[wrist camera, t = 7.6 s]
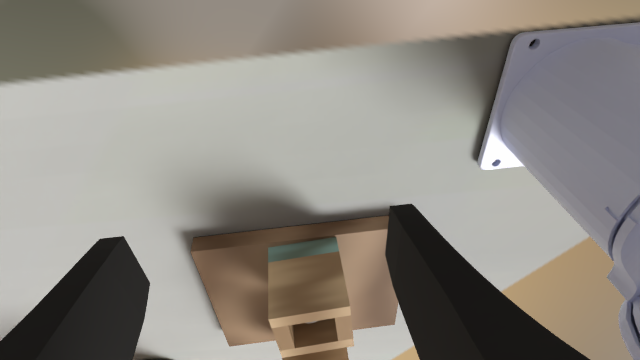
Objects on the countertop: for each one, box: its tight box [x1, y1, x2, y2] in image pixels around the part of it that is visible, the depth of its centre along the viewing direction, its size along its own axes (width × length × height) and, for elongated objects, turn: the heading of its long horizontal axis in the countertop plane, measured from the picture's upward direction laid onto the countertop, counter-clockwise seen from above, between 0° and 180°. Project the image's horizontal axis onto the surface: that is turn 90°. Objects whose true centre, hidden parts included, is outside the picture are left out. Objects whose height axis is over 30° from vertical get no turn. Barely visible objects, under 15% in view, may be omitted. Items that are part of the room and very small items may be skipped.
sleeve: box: [268, 237, 354, 358], centre depth 23 cm, size 4×4×5 cm
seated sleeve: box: [282, 347, 349, 360], centre depth 27 cm, size 4×4×5 cm
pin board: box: [191, 215, 398, 346], centre depth 26 cm, size 14×12×5 cm
